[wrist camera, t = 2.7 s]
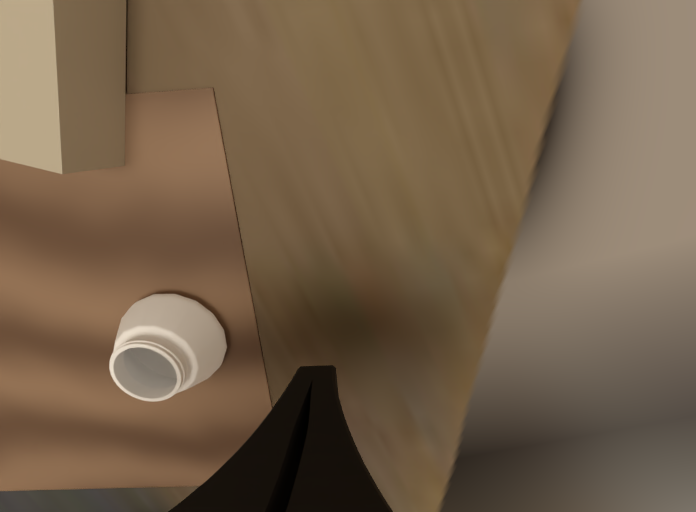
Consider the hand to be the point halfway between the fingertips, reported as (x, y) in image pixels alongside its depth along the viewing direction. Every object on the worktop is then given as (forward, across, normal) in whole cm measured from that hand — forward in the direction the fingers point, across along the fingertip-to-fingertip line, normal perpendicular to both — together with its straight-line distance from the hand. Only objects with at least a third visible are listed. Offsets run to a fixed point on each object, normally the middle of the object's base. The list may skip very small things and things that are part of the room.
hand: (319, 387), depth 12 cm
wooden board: (+5, +18, 0) cm, 18 cm away
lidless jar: (+4, +8, 0) cm, 9 cm away
